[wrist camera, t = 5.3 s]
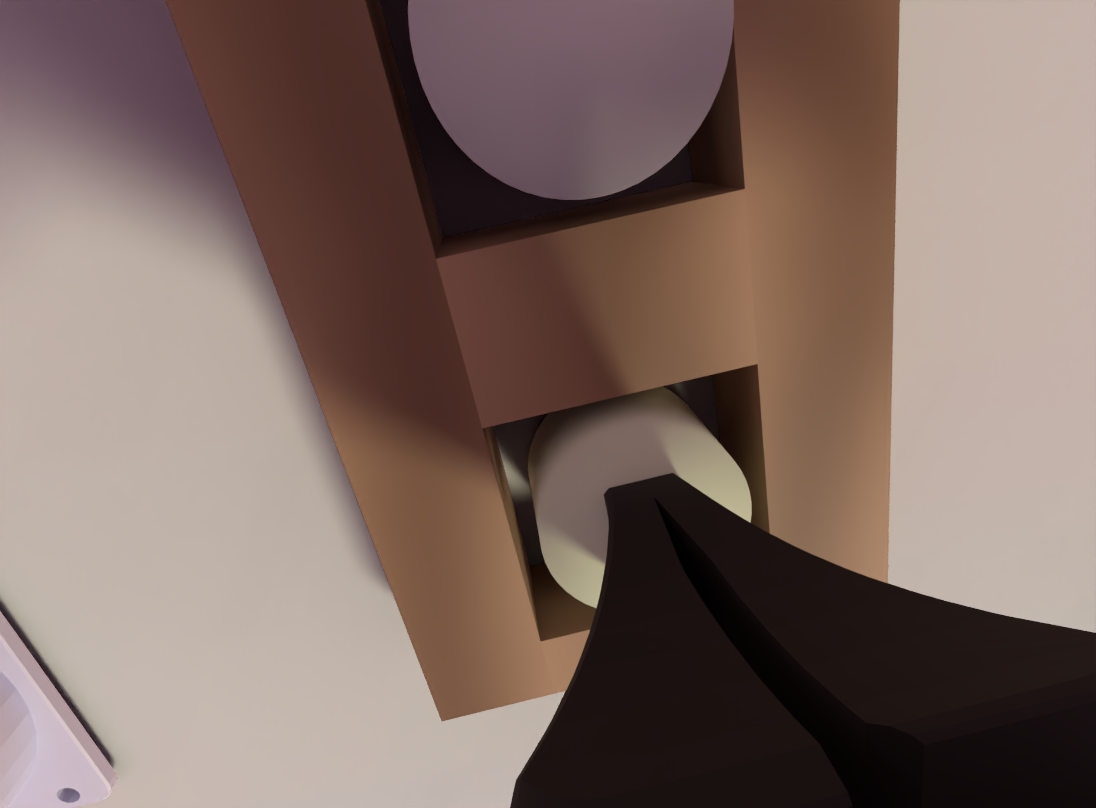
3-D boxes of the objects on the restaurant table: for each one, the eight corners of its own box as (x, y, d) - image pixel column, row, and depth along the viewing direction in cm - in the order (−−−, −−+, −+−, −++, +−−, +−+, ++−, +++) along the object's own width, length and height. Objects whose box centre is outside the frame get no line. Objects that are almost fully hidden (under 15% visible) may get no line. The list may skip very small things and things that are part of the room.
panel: (446, 637, 16) (442, 721, 13) (-188, -1161, 6) (-578, -1936, 4) (826, 544, 16) (886, 611, 14) (775, -1314, 6) (943, -2123, 4)
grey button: (460, 211, 11) (457, 229, 8) (390, -66, 9) (362, -143, 7) (685, 161, 11) (745, 164, 8) (654, -122, 9) (718, -217, 7)
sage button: (547, 554, 15) (562, 634, 12) (509, 402, 13) (518, 458, 11) (711, 515, 15) (758, 586, 12) (693, 359, 13) (743, 406, 11)
